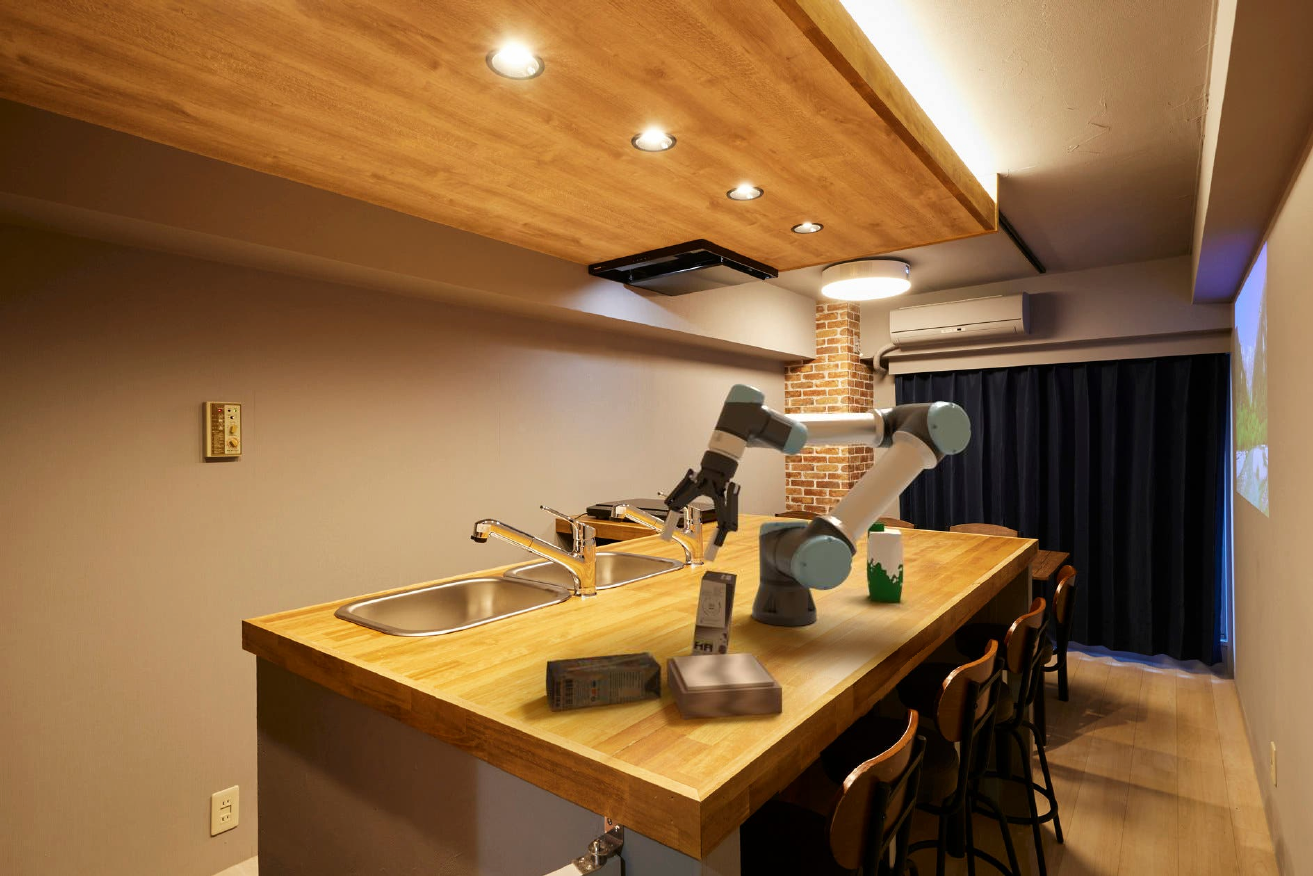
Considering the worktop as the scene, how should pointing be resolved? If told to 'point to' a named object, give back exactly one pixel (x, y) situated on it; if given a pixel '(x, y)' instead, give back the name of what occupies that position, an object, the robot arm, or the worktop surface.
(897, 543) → the milk carton
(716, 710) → the shelf riser
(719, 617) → the coffee box
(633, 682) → the beverage carton
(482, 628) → the worktop surface
